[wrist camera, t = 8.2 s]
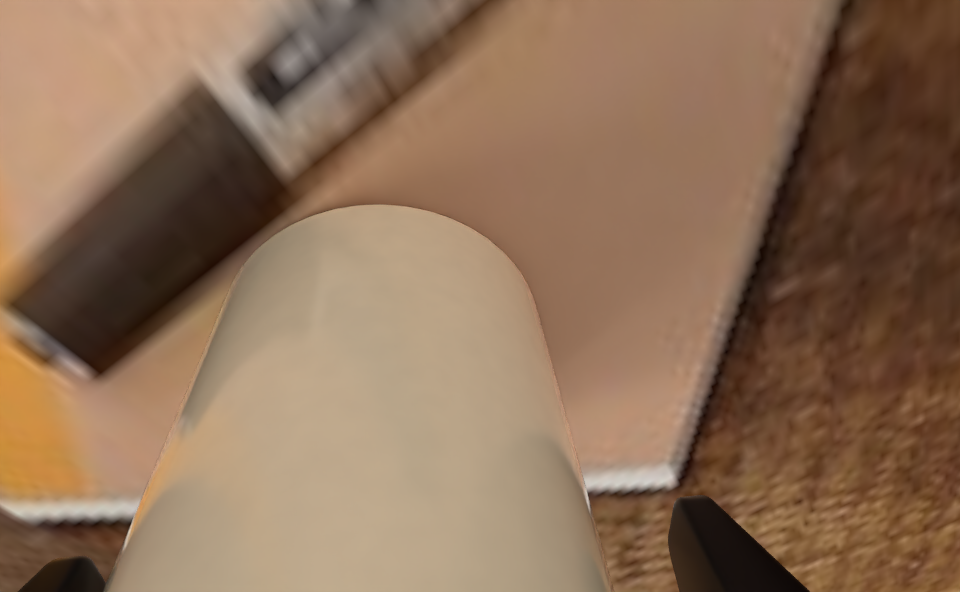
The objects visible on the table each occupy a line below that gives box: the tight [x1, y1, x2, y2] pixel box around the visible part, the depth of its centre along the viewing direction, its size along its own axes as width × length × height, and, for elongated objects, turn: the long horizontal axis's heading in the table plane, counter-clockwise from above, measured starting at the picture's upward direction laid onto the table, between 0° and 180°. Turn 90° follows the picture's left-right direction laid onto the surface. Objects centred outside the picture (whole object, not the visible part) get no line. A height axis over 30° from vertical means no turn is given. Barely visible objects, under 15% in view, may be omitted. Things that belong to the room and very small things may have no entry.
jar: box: [103, 204, 614, 592], centre depth 9 cm, size 6×6×10 cm
